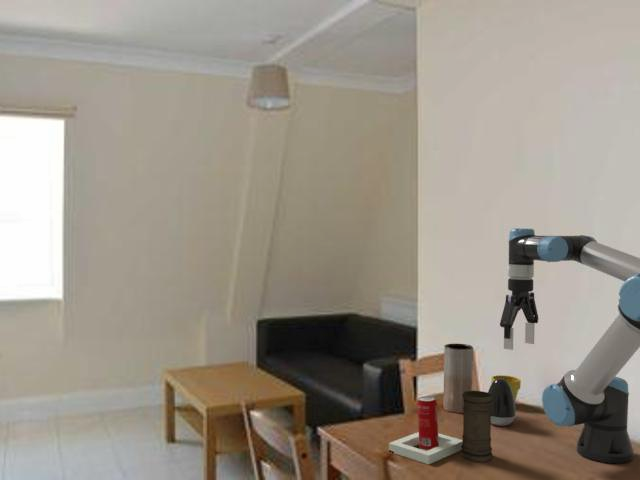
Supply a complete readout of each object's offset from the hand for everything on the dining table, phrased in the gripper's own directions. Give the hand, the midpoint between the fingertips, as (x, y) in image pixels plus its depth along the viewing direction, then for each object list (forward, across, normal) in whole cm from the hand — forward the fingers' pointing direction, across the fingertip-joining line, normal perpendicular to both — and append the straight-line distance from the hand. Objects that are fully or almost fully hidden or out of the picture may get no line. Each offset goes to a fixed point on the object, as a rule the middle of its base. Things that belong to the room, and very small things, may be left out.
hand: (519, 346), depth 206 cm
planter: (+29, -13, -30) cm, 44 cm away
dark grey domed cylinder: (+29, -9, -11) cm, 32 cm away
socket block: (+29, +30, -13) cm, 44 cm away
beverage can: (+29, +28, -14) cm, 43 cm away
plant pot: (+29, -31, -21) cm, 47 cm away
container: (+29, +24, 0) cm, 37 cm away
